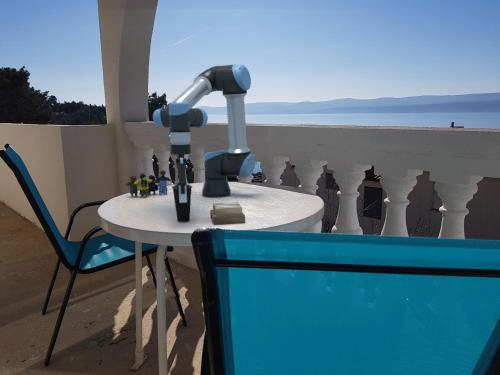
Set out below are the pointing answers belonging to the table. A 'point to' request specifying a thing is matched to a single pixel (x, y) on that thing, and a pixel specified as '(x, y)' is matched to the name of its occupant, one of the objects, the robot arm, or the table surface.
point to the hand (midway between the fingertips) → (182, 198)
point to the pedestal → (227, 213)
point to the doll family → (148, 185)
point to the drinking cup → (182, 204)
